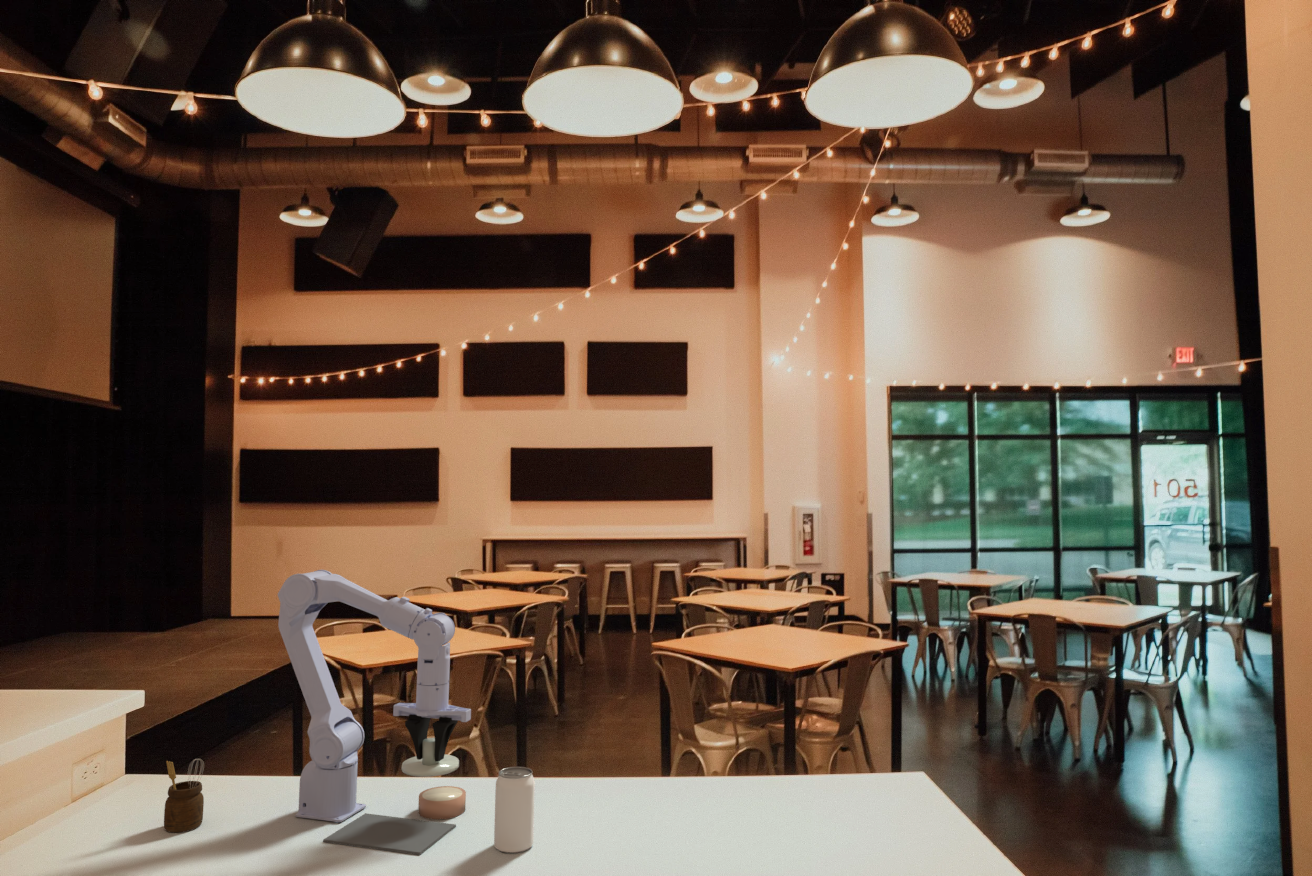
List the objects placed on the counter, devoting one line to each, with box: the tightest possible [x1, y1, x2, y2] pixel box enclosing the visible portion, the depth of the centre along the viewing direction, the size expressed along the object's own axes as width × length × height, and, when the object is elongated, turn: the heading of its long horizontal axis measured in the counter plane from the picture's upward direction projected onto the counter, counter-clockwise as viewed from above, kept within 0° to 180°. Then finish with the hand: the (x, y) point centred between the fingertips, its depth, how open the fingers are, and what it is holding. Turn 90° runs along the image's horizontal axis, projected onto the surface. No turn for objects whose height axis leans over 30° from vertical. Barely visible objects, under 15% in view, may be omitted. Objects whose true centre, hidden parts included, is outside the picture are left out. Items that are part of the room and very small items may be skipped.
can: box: [493, 766, 536, 854], centre depth 139 cm, size 6×6×12 cm
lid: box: [401, 737, 460, 778], centre depth 151 cm, size 10×10×5 cm
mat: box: [322, 813, 457, 856], centre depth 142 cm, size 18×12×1 cm, turn 76°
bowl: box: [417, 785, 467, 821], centre depth 153 cm, size 8×8×3 cm
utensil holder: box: [163, 758, 205, 834], centre depth 145 cm, size 6×6×12 cm
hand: (430, 758), depth 151 cm, fingers closed on lid, 3 cm apart
